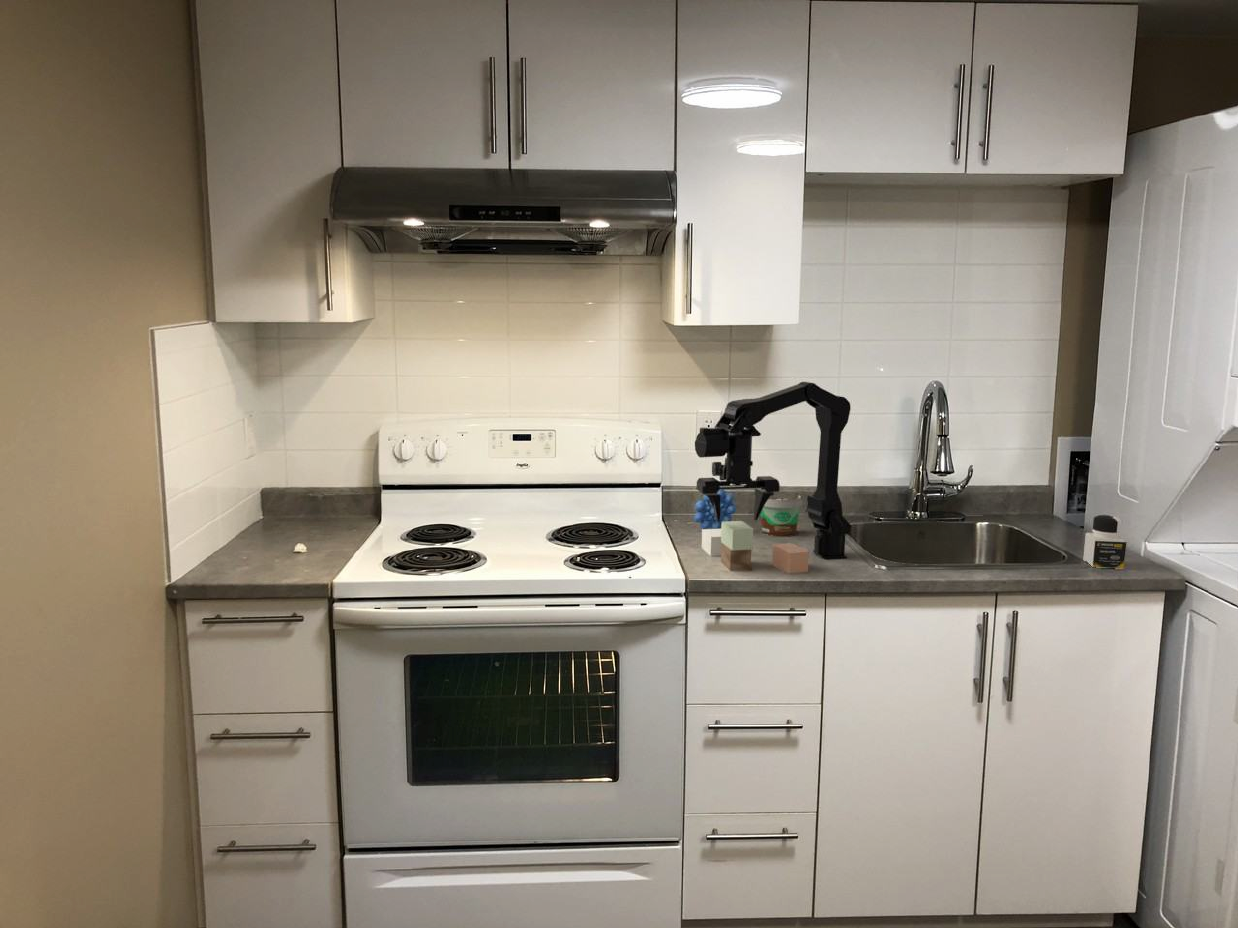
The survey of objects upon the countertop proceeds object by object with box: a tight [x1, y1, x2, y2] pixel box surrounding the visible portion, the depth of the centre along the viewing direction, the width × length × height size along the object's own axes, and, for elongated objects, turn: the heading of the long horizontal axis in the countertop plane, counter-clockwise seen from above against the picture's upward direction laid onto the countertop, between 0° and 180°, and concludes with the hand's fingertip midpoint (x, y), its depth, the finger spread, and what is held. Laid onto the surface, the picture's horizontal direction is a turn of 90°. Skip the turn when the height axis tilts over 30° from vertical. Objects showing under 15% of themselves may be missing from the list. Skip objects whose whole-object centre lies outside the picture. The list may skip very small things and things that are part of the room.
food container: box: [760, 495, 803, 537], centre depth 263 cm, size 12×6×10 cm, turn 105°
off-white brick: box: [701, 528, 722, 557], centre depth 245 cm, size 5×8×5 cm, turn 11°
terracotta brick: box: [771, 542, 810, 574], centre depth 231 cm, size 5×8×5 cm, turn 21°
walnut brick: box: [720, 543, 752, 572], centre depth 233 cm, size 5×8×5 cm, turn 9°
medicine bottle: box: [1083, 514, 1127, 570], centre depth 236 cm, size 7×7×12 cm
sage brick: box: [721, 520, 754, 551], centre depth 232 cm, size 5×8×5 cm, turn 13°
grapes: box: [693, 489, 738, 531], centre depth 266 cm, size 12×7×12 cm, turn 90°
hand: (736, 520), depth 231 cm, fingers open, 9 cm apart
